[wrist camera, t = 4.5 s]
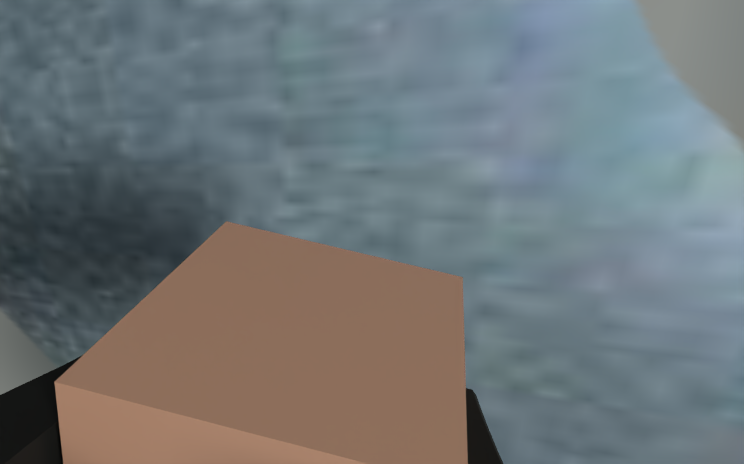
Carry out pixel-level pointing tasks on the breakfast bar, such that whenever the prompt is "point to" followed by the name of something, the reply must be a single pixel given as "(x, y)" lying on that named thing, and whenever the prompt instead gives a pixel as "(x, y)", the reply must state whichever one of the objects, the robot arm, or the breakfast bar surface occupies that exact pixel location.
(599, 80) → the breakfast bar surface
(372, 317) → the terracotta cube
